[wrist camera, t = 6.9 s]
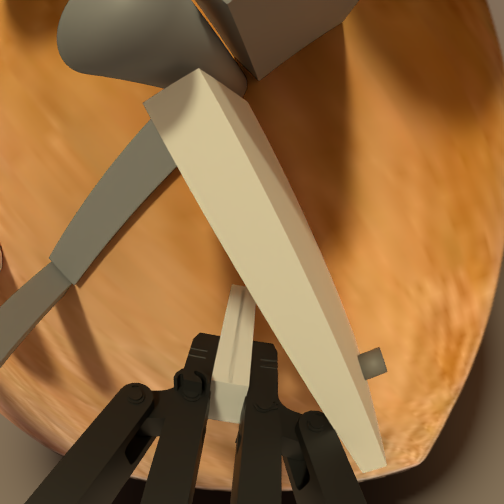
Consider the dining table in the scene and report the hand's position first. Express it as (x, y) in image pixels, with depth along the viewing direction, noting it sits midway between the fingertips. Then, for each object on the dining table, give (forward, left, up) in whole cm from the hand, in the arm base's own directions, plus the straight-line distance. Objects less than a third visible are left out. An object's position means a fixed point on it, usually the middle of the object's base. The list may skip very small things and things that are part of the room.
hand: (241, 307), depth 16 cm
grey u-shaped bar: (-9, +1, -3) cm, 10 cm away
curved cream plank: (0, +5, -2) cm, 6 cm away
